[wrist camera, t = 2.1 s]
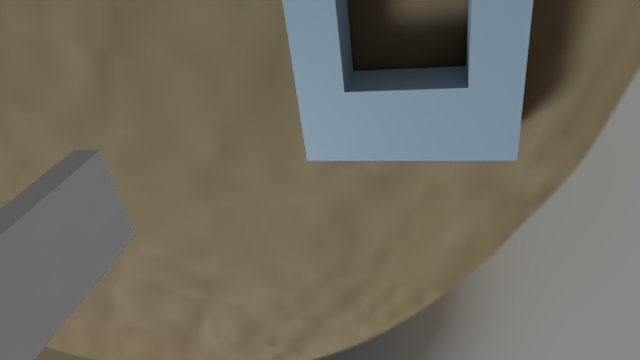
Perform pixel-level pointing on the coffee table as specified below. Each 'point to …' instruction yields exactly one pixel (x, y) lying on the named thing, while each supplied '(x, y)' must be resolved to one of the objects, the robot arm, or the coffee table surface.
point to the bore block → (410, 90)
